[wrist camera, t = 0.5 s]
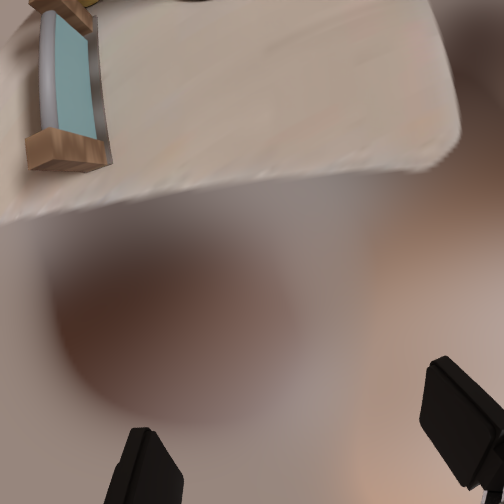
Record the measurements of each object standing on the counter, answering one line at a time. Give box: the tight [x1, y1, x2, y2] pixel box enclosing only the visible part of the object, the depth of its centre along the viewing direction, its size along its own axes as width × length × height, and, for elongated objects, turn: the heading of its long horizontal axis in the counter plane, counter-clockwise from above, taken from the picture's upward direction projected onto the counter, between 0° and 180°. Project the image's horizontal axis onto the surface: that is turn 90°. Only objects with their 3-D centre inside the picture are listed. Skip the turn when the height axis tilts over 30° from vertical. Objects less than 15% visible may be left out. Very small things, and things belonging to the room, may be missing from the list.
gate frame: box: [25, 0, 113, 173], centre depth 25 cm, size 23×4×13 cm, turn 12°
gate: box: [39, 10, 97, 139], centre depth 25 cm, size 16×2×10 cm, turn 12°
